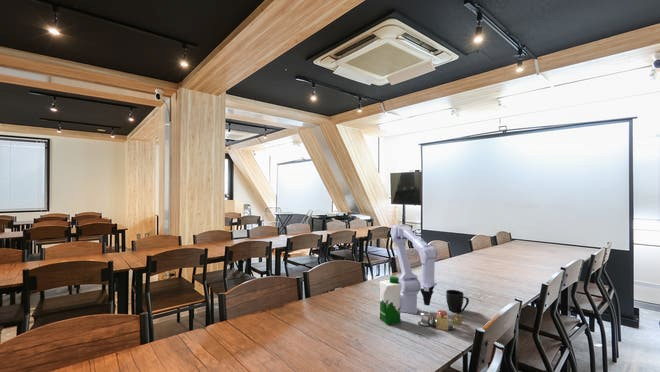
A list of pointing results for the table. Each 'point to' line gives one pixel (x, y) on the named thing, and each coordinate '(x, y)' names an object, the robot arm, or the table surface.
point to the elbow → (457, 320)
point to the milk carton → (390, 301)
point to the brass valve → (442, 321)
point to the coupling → (425, 318)
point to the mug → (456, 301)
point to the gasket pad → (423, 325)
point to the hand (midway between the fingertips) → (427, 302)
